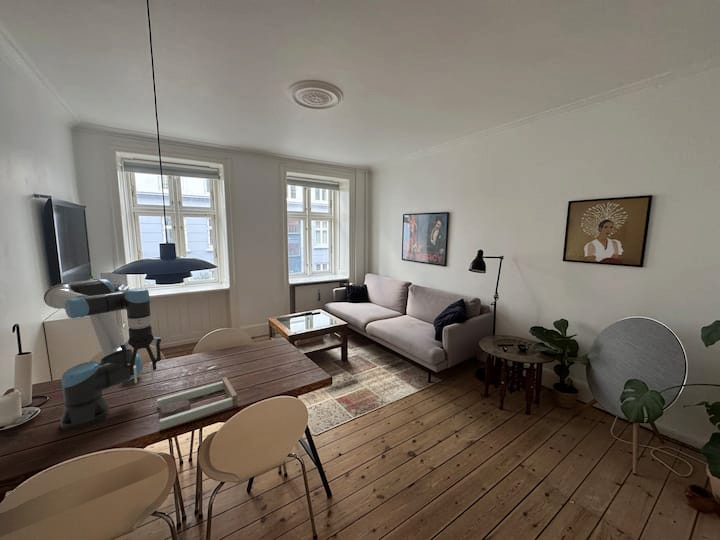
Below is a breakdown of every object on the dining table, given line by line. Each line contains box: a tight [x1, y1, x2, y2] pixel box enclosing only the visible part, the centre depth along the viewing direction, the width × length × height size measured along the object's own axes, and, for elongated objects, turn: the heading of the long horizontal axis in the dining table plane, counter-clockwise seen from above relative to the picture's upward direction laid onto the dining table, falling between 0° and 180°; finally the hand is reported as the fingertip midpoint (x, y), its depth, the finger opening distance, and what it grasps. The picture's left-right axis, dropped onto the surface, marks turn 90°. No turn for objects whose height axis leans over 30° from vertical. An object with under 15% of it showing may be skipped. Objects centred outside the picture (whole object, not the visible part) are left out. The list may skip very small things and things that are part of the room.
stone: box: [158, 399, 192, 420], centre depth 128 cm, size 12×9×5 cm
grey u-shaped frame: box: [156, 376, 238, 430], centre depth 135 cm, size 30×20×5 cm, turn 128°
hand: (144, 379), depth 121 cm, fingers open, 5 cm apart
